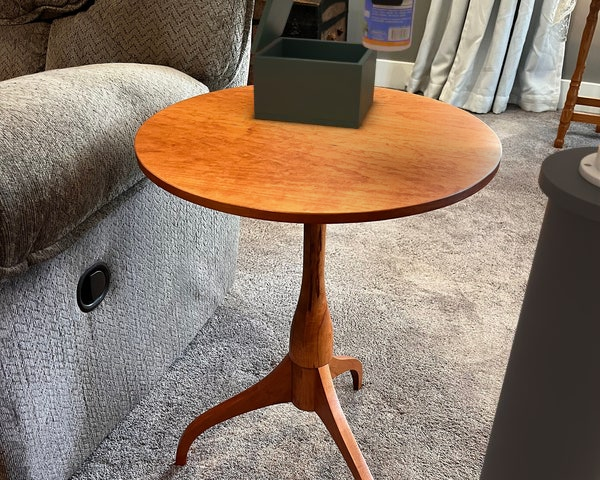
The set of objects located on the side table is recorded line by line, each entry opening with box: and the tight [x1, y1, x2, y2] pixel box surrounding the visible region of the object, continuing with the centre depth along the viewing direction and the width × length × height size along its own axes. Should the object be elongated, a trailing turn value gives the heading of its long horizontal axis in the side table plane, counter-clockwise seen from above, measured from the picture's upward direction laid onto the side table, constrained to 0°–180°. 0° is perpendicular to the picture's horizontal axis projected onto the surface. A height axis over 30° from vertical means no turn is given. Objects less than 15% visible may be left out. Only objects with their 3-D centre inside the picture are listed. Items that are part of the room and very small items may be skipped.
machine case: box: [252, 36, 378, 129], centre depth 97 cm, size 16×14×9 cm
